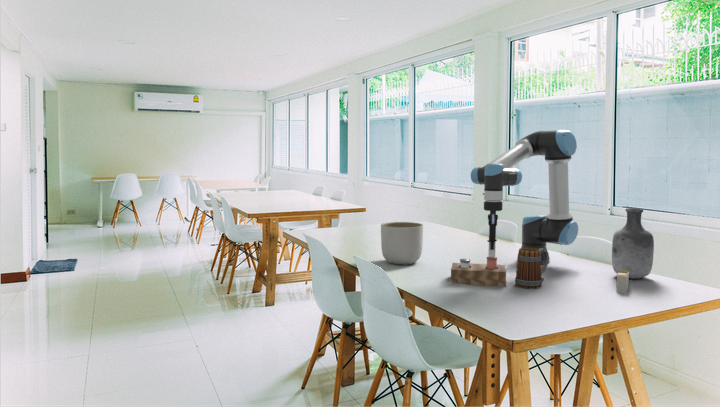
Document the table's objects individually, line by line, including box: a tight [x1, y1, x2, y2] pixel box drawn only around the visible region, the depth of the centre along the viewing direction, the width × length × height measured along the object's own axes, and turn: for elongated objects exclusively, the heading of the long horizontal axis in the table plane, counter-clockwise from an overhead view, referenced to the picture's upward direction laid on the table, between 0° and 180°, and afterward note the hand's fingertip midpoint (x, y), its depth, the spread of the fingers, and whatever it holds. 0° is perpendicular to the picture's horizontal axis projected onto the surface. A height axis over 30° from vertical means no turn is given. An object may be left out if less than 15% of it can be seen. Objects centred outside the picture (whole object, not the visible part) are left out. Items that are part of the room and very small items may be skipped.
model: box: [616, 269, 630, 294], centre depth 209 cm, size 3×11×8 cm, turn 148°
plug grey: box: [459, 258, 471, 268], centre depth 224 cm, size 4×4×9 cm
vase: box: [611, 207, 655, 280], centre depth 228 cm, size 16×16×30 cm
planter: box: [380, 221, 424, 265], centre depth 261 cm, size 21×21×19 cm
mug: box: [514, 247, 550, 290], centre depth 216 cm, size 16×11×15 cm
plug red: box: [486, 256, 498, 269], centre depth 222 cm, size 4×4×9 cm
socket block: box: [450, 262, 507, 287], centre depth 223 cm, size 22×14×6 cm, turn 77°
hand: (491, 256), depth 221 cm, fingers closed
